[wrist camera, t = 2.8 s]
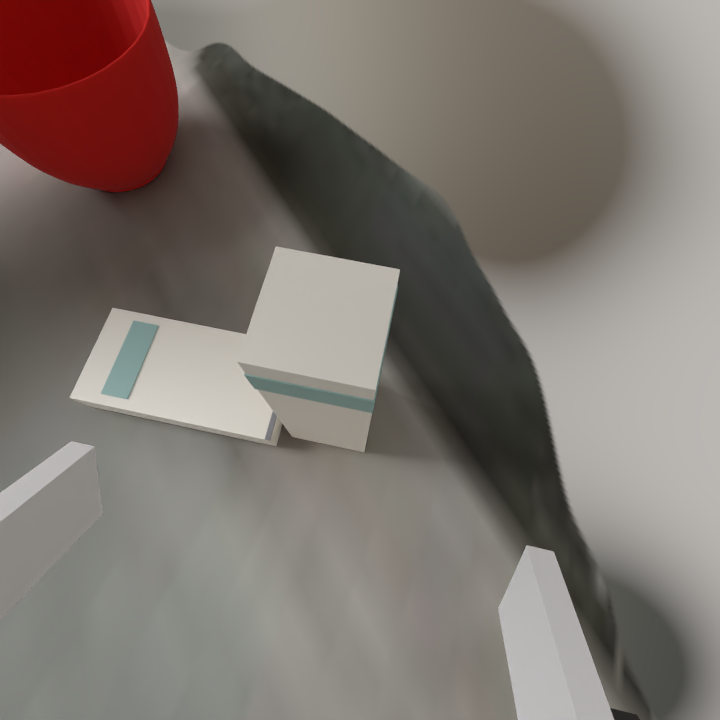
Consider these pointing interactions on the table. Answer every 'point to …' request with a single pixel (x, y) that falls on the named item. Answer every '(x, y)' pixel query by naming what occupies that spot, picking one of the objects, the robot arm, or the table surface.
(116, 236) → the table surface
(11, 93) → the ceramic cup
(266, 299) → the stub
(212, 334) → the strip
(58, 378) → the table surface
